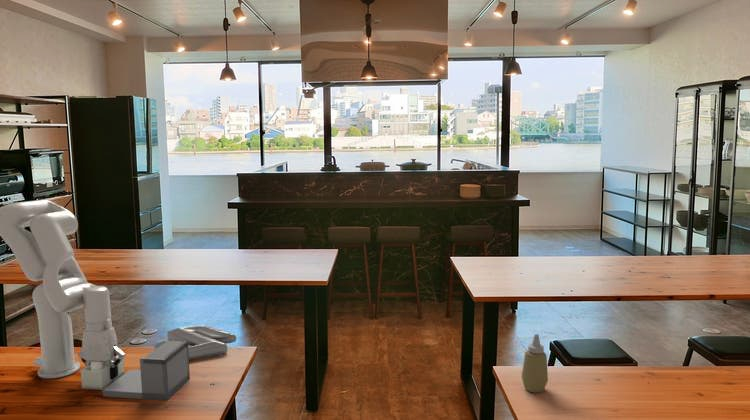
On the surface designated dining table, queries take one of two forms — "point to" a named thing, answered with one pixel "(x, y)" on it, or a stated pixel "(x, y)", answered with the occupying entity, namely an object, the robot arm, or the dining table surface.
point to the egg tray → (99, 374)
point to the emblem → (201, 340)
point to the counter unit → (155, 374)
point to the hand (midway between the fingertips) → (103, 376)
